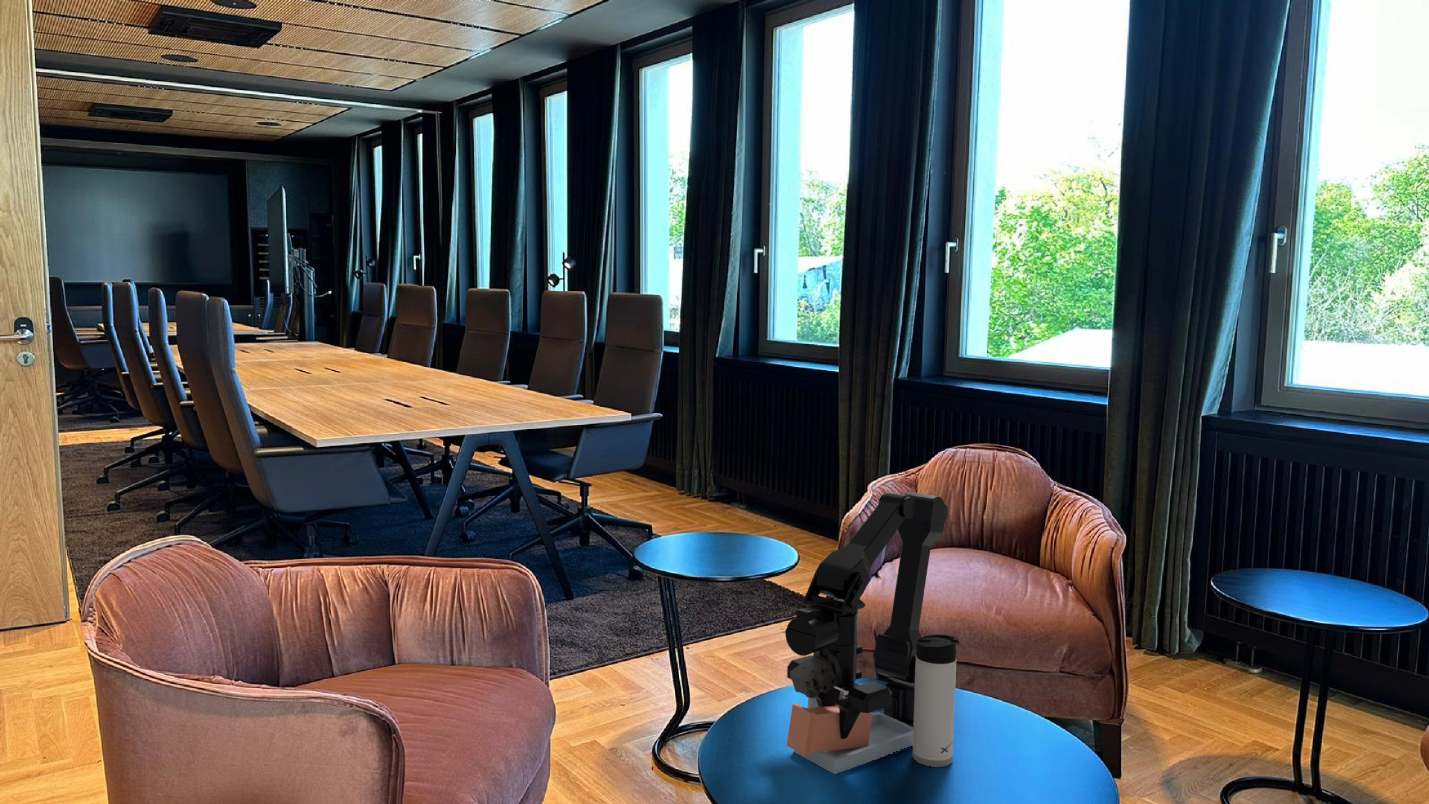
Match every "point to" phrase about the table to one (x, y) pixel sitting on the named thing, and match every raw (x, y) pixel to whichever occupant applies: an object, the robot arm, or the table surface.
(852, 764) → the tray
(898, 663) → the robot arm
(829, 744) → the pink curved block
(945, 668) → the travel mug
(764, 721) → the table surface
